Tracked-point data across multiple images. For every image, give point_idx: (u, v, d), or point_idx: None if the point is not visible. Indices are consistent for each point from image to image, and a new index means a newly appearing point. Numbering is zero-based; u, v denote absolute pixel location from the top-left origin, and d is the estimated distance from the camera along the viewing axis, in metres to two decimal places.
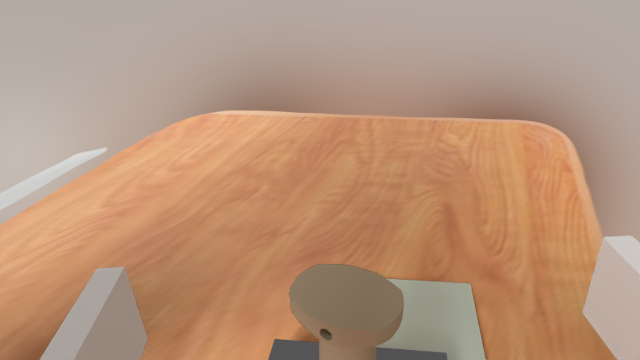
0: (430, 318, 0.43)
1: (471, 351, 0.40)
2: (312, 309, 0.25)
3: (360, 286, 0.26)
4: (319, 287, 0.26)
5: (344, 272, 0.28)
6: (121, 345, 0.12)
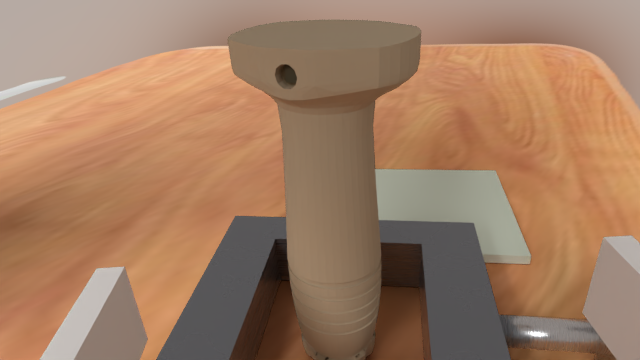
0: (447, 203, 0.33)
1: (504, 233, 0.29)
2: (264, 43, 0.14)
3: (347, 28, 0.16)
4: (279, 32, 0.16)
5: (322, 23, 0.17)
6: (121, 345, 0.12)
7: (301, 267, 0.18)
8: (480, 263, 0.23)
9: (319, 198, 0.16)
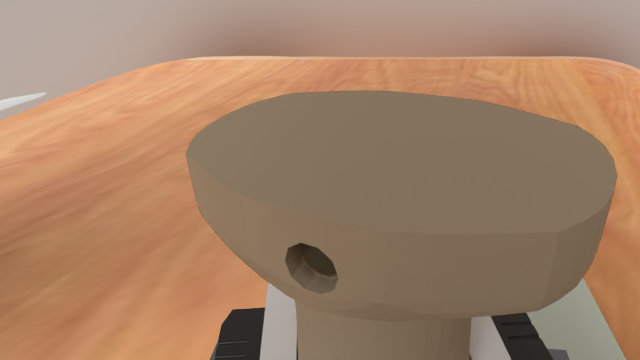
0: None
1: (596, 348, 0.21)
2: (261, 178, 0.06)
3: (430, 123, 0.08)
4: (292, 131, 0.08)
5: (372, 102, 0.09)
6: None
7: None
8: None
9: None
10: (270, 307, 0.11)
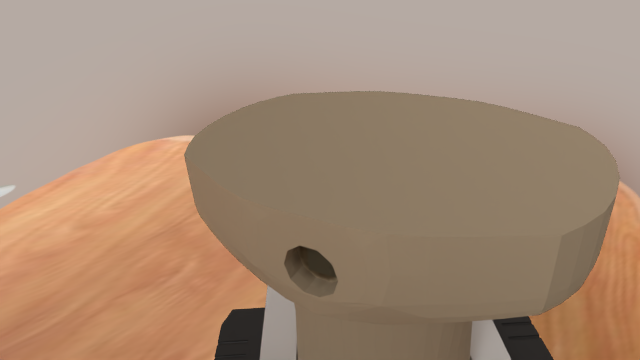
0: None
1: None
2: (261, 180, 0.06)
3: (430, 125, 0.08)
4: (292, 131, 0.08)
5: (372, 103, 0.09)
6: None
7: None
8: None
9: None
10: (270, 307, 0.11)
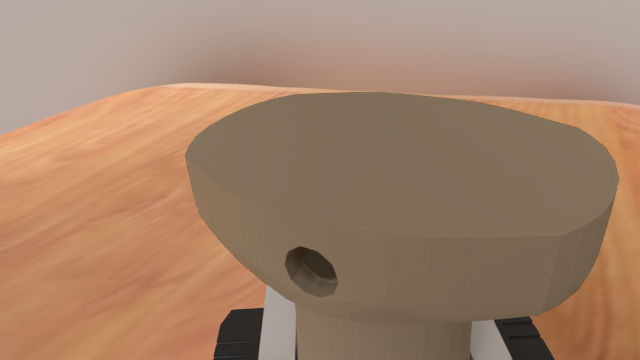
0: None
1: None
2: (260, 180, 0.06)
3: (430, 125, 0.08)
4: (292, 133, 0.08)
5: (372, 104, 0.09)
6: None
7: None
8: None
9: None
10: (269, 307, 0.11)
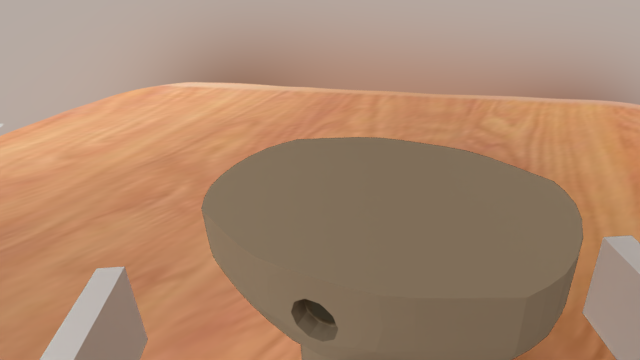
0: None
1: None
2: (269, 236, 0.07)
3: (421, 177, 0.09)
4: (297, 183, 0.09)
5: (369, 151, 0.10)
6: (121, 345, 0.12)
7: None
8: None
9: None
10: None
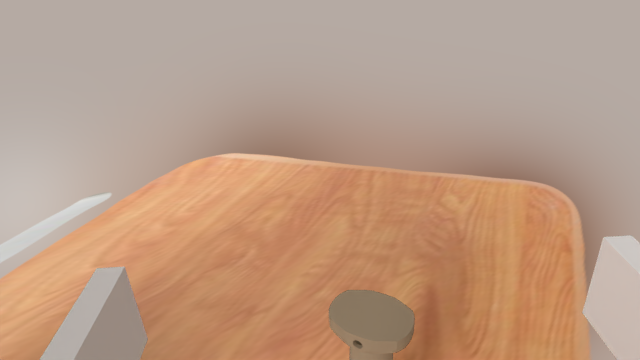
0: None
1: None
2: (347, 326, 0.34)
3: (381, 308, 0.35)
4: (350, 309, 0.35)
5: (369, 296, 0.36)
6: (121, 345, 0.12)
7: None
8: None
9: None
10: None
